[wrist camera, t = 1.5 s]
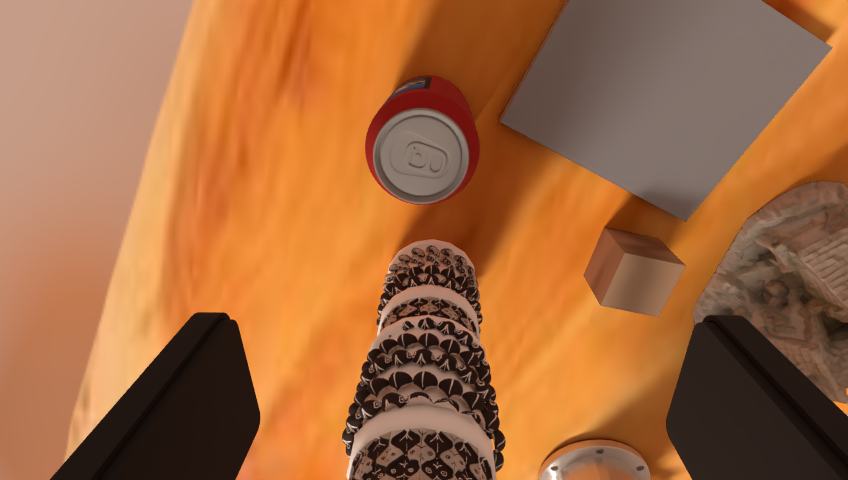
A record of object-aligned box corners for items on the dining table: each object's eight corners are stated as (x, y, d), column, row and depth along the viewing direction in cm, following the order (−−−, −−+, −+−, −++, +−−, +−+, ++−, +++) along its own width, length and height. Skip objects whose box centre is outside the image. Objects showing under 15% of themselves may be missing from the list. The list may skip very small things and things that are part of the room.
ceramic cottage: (869, 159, 35) (1110, 259, 22) (875, 311, 42) (1062, 456, 29) (664, 230, 39) (762, 348, 26) (699, 357, 46) (791, 501, 33)
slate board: (821, 47, 32) (832, 47, 31) (679, 217, 38) (685, 221, 37) (616, -88, 29) (622, -92, 28) (498, 119, 35) (499, 122, 34)
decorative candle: (461, 220, 39) (485, 486, 16) (493, 303, 42) (549, 615, 20) (367, 252, 41) (271, 532, 18) (405, 329, 44) (365, 643, 22)
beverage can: (399, 61, 33) (377, 77, 23) (482, 90, 34) (501, 118, 23) (376, 145, 36) (347, 195, 25) (453, 170, 37) (457, 229, 26)
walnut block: (658, 238, 39) (686, 265, 34) (634, 285, 41) (658, 317, 36) (603, 226, 39) (624, 252, 34) (583, 274, 41) (600, 305, 36)
